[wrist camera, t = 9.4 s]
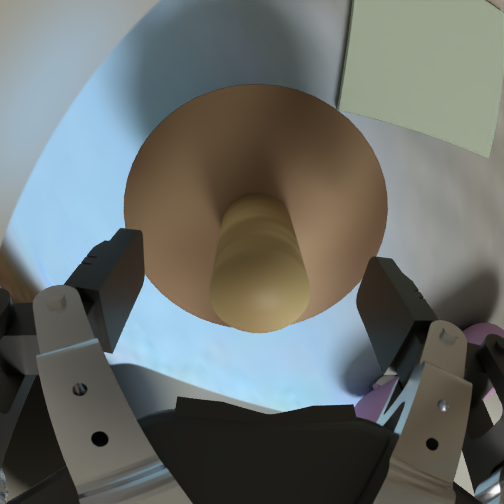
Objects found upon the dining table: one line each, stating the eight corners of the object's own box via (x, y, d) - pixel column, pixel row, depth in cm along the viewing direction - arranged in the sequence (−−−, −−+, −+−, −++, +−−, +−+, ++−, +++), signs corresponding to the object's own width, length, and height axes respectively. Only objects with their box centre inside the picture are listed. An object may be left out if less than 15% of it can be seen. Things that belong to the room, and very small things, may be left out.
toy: (482, 291, 26) (328, 394, 30) (528, 342, 18) (347, 461, 23) (488, 331, 29) (356, 418, 34) (524, 377, 21) (373, 474, 26)
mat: (502, 15, 12) (506, 14, 12) (484, 156, 18) (488, 158, 18) (357, -57, 11) (359, -60, 11) (336, 109, 17) (338, 109, 17)
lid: (404, 116, 12) (488, 141, 7) (342, 323, 18) (368, 406, 12) (135, 77, 11) (60, 75, 6) (137, 303, 17) (104, 385, 12)
